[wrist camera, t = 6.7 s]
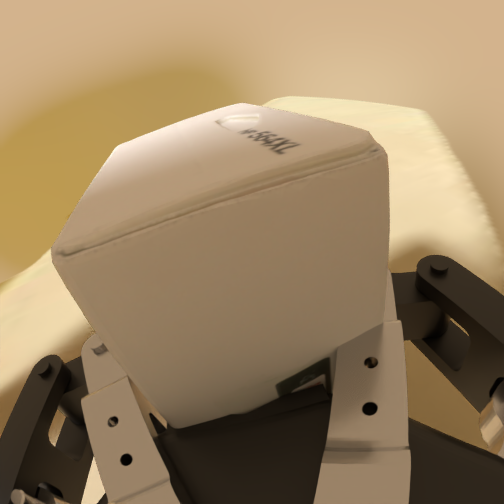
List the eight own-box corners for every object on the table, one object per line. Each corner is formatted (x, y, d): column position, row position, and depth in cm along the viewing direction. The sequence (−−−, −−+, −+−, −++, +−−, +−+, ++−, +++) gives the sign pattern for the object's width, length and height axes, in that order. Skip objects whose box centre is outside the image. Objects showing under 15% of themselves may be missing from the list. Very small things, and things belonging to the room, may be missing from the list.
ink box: (202, 361, 16) (107, 143, 10) (288, 329, 17) (237, 101, 11) (248, 509, 9) (20, 252, 3) (367, 460, 10) (400, 127, 4)
